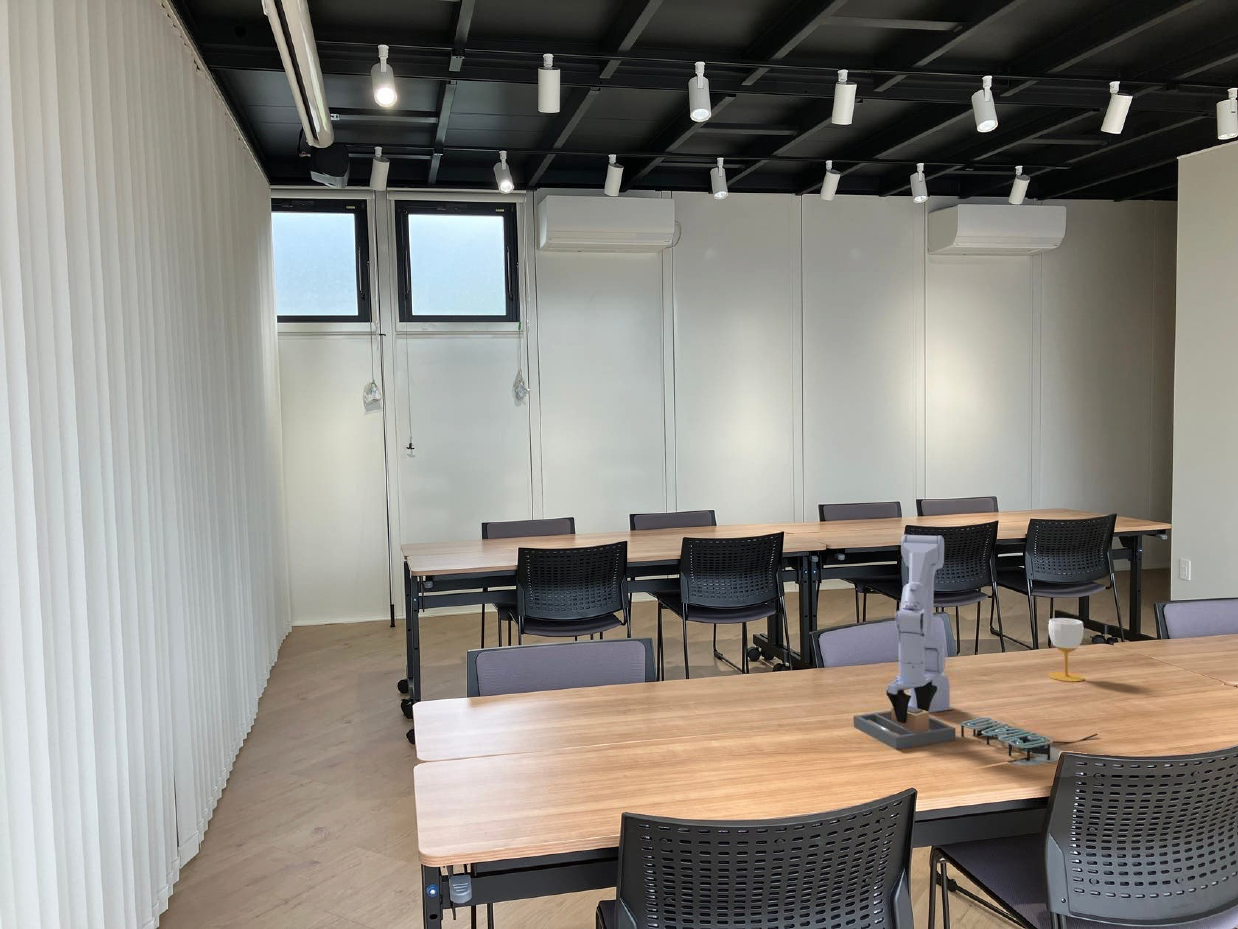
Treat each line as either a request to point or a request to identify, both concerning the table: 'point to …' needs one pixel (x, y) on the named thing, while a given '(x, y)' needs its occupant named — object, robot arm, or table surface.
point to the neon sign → (1018, 741)
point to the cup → (1066, 643)
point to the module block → (914, 719)
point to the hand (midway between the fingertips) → (912, 718)
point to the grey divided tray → (902, 731)
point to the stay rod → (883, 727)
